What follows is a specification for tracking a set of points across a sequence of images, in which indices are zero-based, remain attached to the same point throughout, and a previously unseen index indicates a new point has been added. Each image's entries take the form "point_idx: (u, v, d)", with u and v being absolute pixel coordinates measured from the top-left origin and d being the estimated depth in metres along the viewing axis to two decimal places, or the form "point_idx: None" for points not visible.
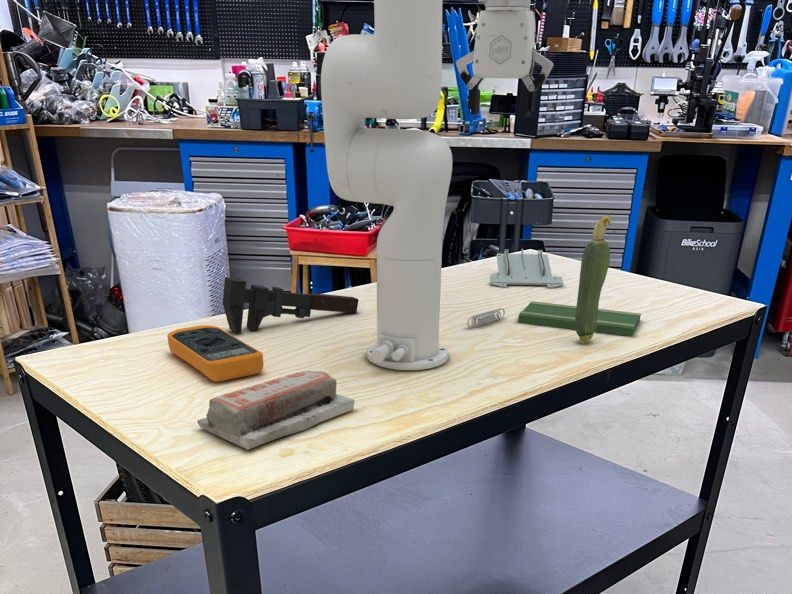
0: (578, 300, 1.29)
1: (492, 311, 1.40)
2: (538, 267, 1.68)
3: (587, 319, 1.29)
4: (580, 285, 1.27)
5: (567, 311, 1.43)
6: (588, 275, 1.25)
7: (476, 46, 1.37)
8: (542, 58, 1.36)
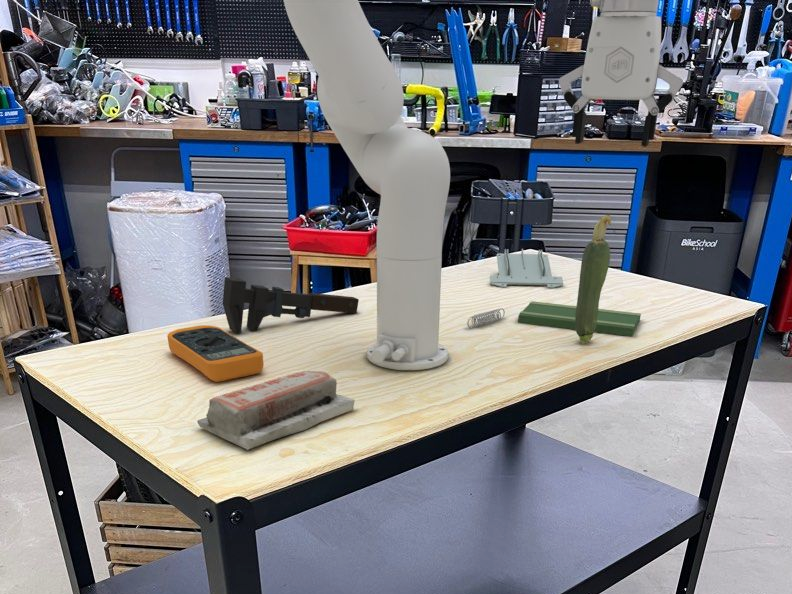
0: (578, 300, 1.29)
1: (492, 311, 1.40)
2: (538, 267, 1.68)
3: (587, 319, 1.29)
4: (580, 285, 1.27)
5: (567, 311, 1.43)
6: (588, 275, 1.25)
7: (587, 60, 1.11)
8: (670, 75, 1.10)
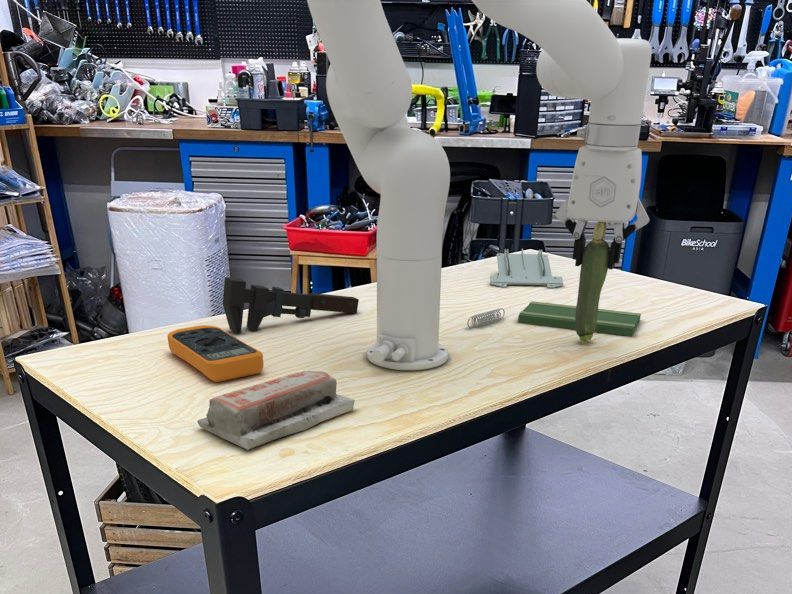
0: (578, 300, 1.29)
1: (492, 311, 1.40)
2: (538, 267, 1.68)
3: (587, 319, 1.29)
4: (580, 285, 1.27)
5: (567, 311, 1.43)
6: (588, 275, 1.25)
7: (573, 186, 1.19)
8: (642, 211, 1.19)
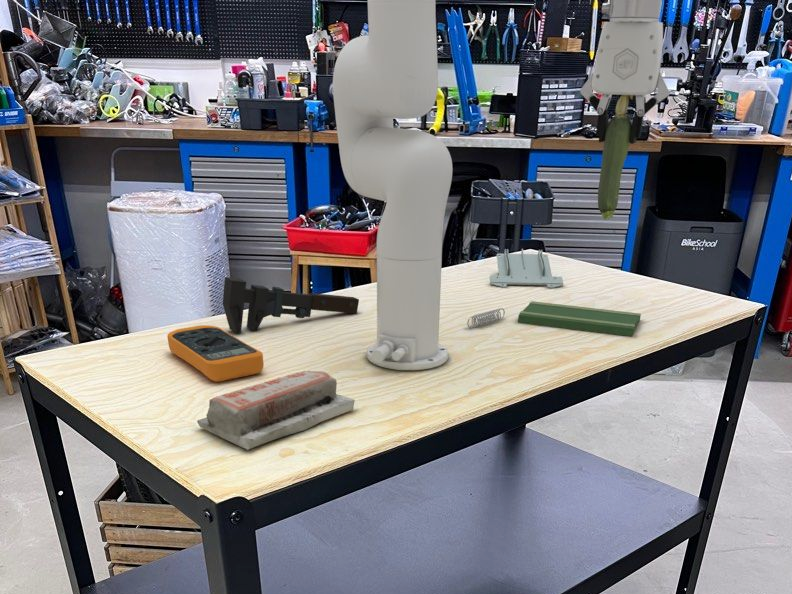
0: (601, 176, 1.36)
1: (492, 311, 1.40)
2: (538, 267, 1.68)
3: (609, 194, 1.36)
4: (603, 161, 1.35)
5: (567, 311, 1.43)
6: (611, 150, 1.32)
7: (598, 60, 1.26)
8: (662, 83, 1.26)
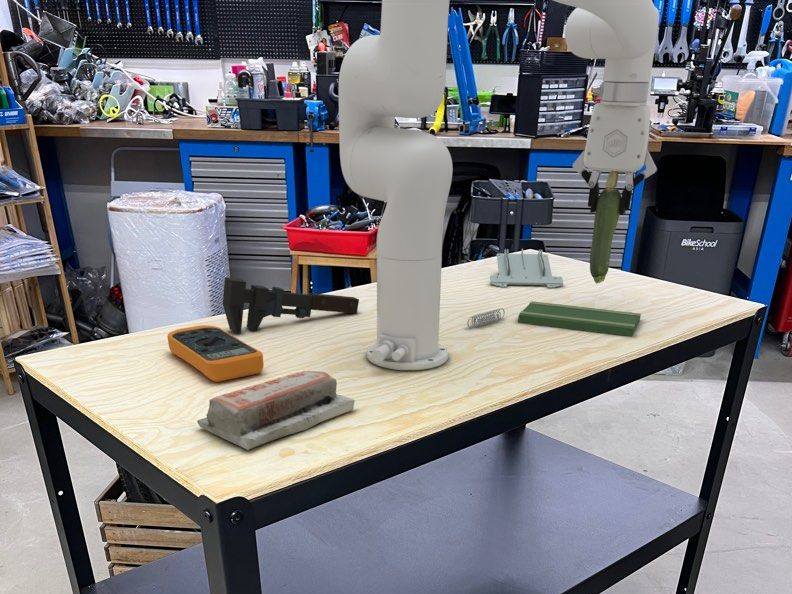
0: (592, 244, 1.43)
1: (492, 311, 1.40)
2: (538, 267, 1.68)
3: (600, 261, 1.43)
4: (594, 230, 1.42)
5: (567, 311, 1.43)
6: (602, 220, 1.40)
7: (589, 139, 1.34)
8: (650, 161, 1.34)
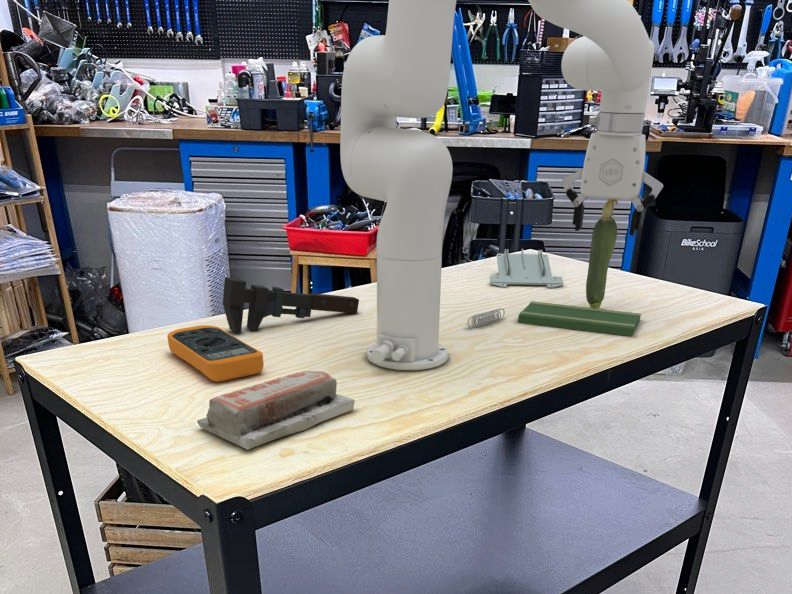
0: (589, 271, 1.46)
1: (492, 311, 1.40)
2: (538, 267, 1.68)
3: (596, 288, 1.46)
4: (590, 258, 1.45)
5: (567, 311, 1.43)
6: (598, 249, 1.43)
7: (585, 167, 1.36)
8: (653, 180, 1.35)
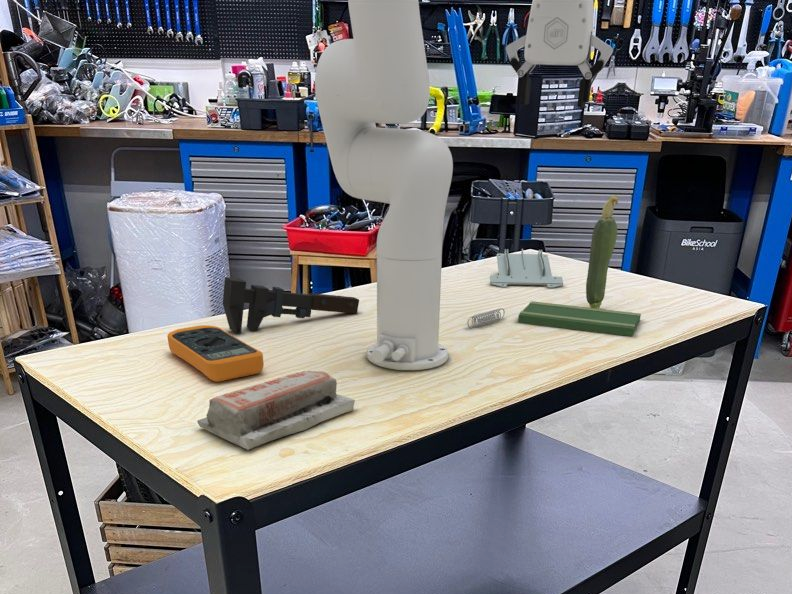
0: (589, 271, 1.46)
1: (492, 311, 1.40)
2: (538, 267, 1.68)
3: (596, 288, 1.46)
4: (590, 258, 1.45)
5: (567, 311, 1.43)
6: (598, 249, 1.43)
7: (529, 29, 1.26)
8: (601, 43, 1.25)
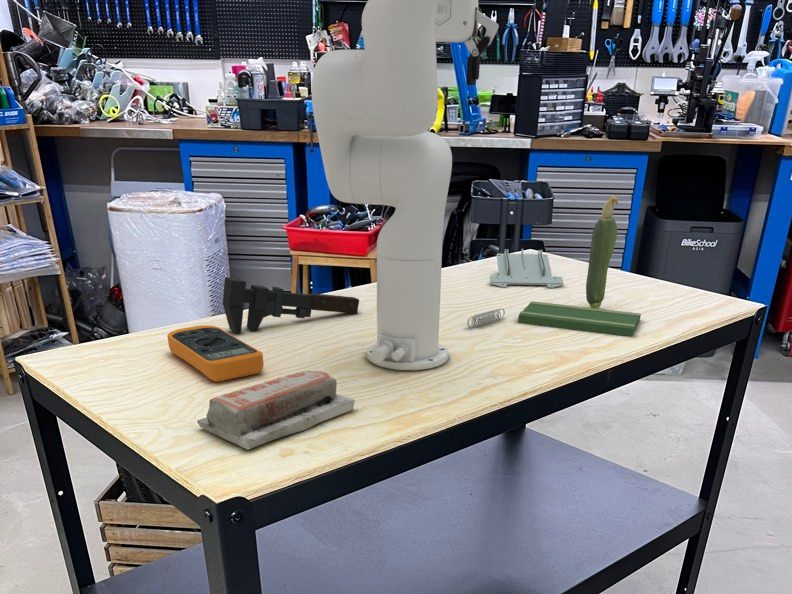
0: (589, 271, 1.46)
1: (492, 311, 1.40)
2: (538, 267, 1.68)
3: (596, 288, 1.46)
4: (590, 258, 1.45)
5: (567, 311, 1.43)
6: (598, 249, 1.43)
7: None
8: (486, 19, 1.23)
